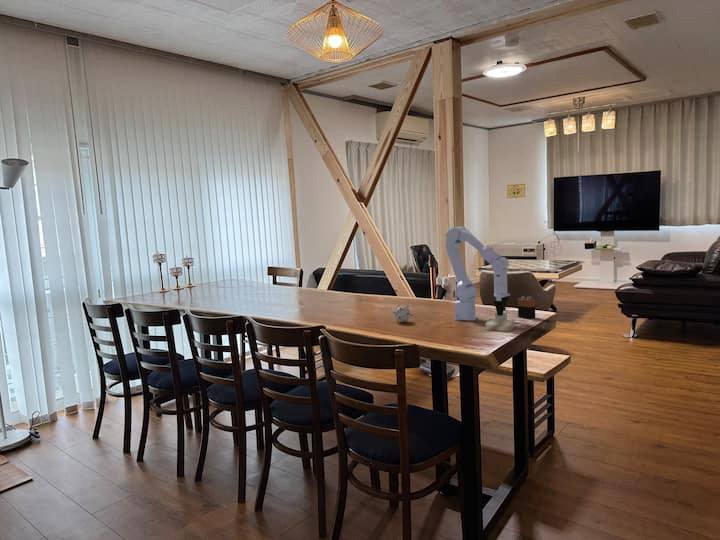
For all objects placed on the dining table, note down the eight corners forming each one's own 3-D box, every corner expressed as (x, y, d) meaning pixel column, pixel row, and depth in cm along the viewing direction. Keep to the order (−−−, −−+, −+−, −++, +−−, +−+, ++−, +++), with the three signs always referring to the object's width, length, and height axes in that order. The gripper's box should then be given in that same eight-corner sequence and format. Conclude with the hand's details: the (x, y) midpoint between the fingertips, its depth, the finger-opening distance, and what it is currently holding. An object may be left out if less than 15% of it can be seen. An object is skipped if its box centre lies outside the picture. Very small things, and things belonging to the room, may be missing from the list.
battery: (530, 319, 232) (529, 298, 231) (517, 317, 238) (517, 296, 237) (535, 318, 235) (535, 296, 234) (523, 316, 240) (523, 295, 239)
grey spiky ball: (406, 329, 240) (418, 312, 240) (400, 326, 233) (413, 309, 232) (392, 318, 244) (404, 301, 244) (386, 316, 237) (398, 298, 236)
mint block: (495, 323, 228) (495, 312, 228) (496, 321, 232) (496, 310, 232) (505, 323, 226) (505, 312, 226) (507, 321, 231) (506, 310, 230)
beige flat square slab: (485, 331, 216) (484, 324, 216) (489, 325, 226) (489, 318, 226) (511, 332, 212) (511, 325, 212) (514, 326, 222) (514, 320, 222)
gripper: (507, 286, 219) (508, 317, 221) (511, 282, 232) (512, 311, 234) (491, 286, 222) (491, 316, 224) (496, 281, 235) (496, 310, 237)
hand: (501, 313), depth 229 cm, fingers open, 7 cm apart
